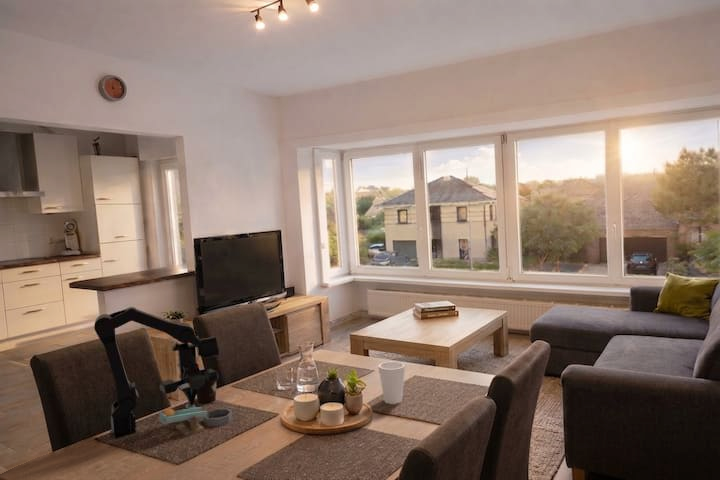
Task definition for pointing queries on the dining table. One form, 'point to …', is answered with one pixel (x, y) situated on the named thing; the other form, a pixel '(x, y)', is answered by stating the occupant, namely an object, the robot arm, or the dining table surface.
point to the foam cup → (392, 381)
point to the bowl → (218, 417)
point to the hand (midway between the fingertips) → (191, 404)
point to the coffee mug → (207, 392)
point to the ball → (169, 412)
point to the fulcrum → (183, 429)
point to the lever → (183, 414)
